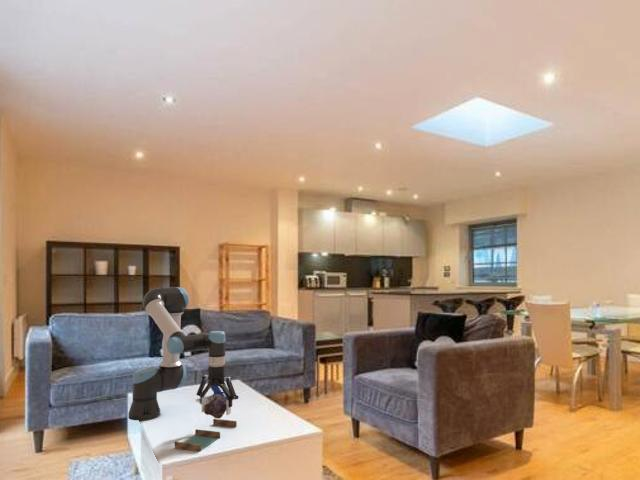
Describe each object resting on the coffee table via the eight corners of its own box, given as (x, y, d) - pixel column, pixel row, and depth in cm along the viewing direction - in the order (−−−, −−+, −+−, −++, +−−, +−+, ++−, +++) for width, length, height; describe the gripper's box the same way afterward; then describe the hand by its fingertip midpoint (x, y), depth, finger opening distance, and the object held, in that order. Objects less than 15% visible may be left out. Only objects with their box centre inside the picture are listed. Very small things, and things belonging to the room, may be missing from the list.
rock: (211, 423, 199) (232, 418, 205) (212, 404, 198) (233, 400, 204) (201, 412, 208) (222, 407, 214) (202, 394, 208) (223, 390, 214)
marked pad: (177, 447, 187) (177, 446, 187) (194, 436, 199) (194, 435, 199) (201, 450, 184) (201, 449, 184) (217, 439, 196) (217, 438, 196)
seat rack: (174, 448, 186) (174, 442, 186) (214, 424, 215) (214, 418, 215) (199, 451, 182) (199, 445, 182) (236, 426, 211) (236, 421, 211)
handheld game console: (239, 398, 259) (239, 382, 259) (217, 403, 251) (217, 386, 251) (228, 393, 271) (228, 377, 272) (206, 396, 263) (206, 380, 264)
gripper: (189, 365, 208) (188, 412, 207) (236, 368, 200) (235, 418, 199) (198, 361, 215) (197, 407, 214) (244, 365, 207) (243, 412, 206)
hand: (216, 412), depth 206 cm, fingers closed on rock, 12 cm apart
